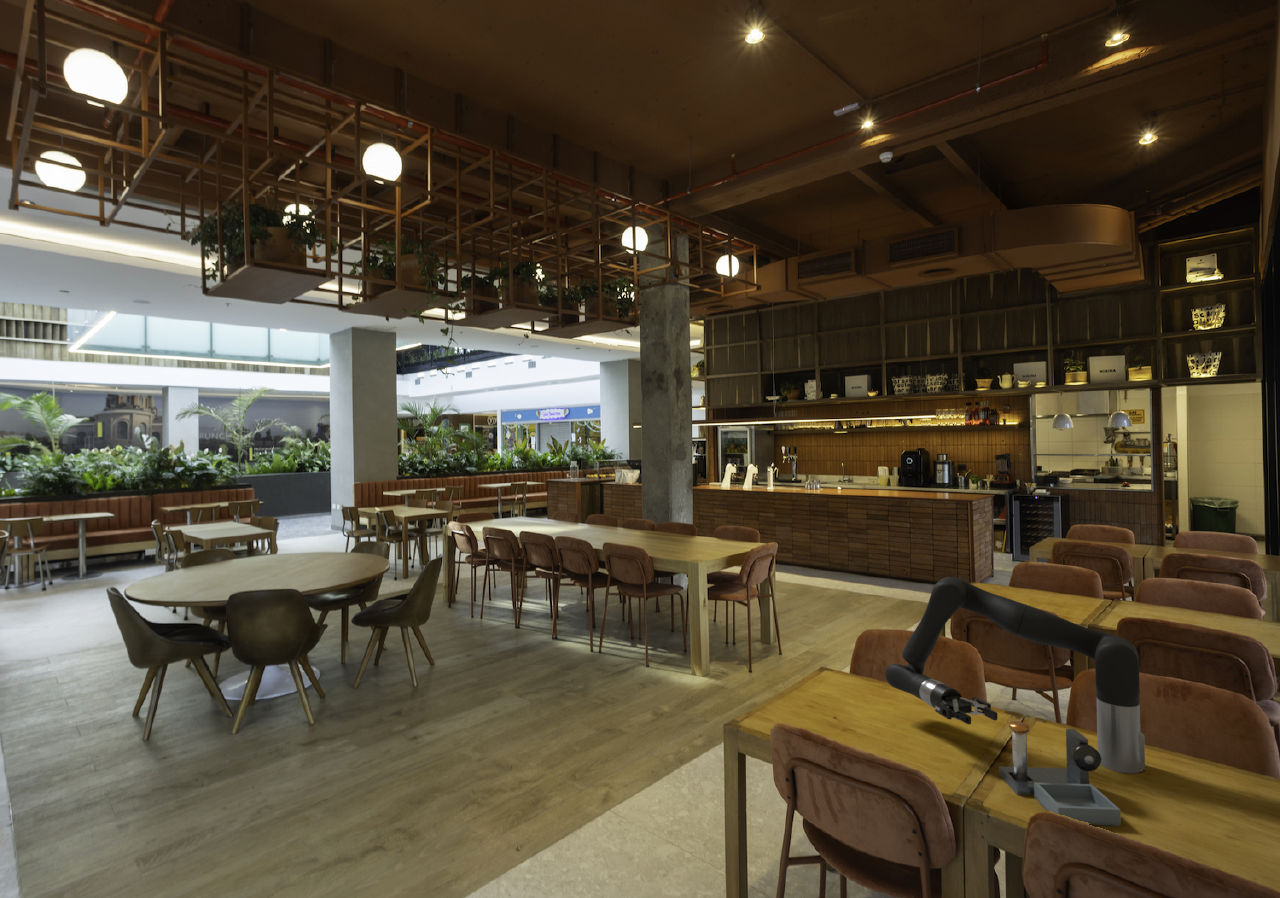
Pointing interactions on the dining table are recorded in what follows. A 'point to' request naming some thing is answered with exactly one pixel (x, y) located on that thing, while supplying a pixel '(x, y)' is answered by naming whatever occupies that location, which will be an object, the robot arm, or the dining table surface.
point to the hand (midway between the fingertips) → (983, 718)
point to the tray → (1078, 802)
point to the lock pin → (1019, 750)
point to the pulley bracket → (1077, 770)
